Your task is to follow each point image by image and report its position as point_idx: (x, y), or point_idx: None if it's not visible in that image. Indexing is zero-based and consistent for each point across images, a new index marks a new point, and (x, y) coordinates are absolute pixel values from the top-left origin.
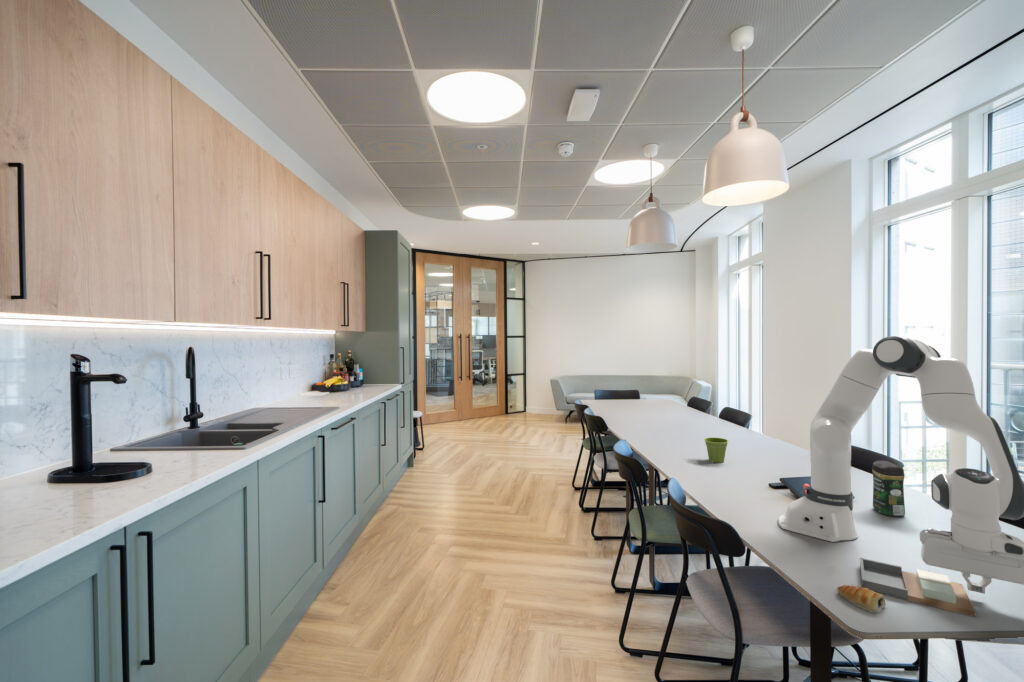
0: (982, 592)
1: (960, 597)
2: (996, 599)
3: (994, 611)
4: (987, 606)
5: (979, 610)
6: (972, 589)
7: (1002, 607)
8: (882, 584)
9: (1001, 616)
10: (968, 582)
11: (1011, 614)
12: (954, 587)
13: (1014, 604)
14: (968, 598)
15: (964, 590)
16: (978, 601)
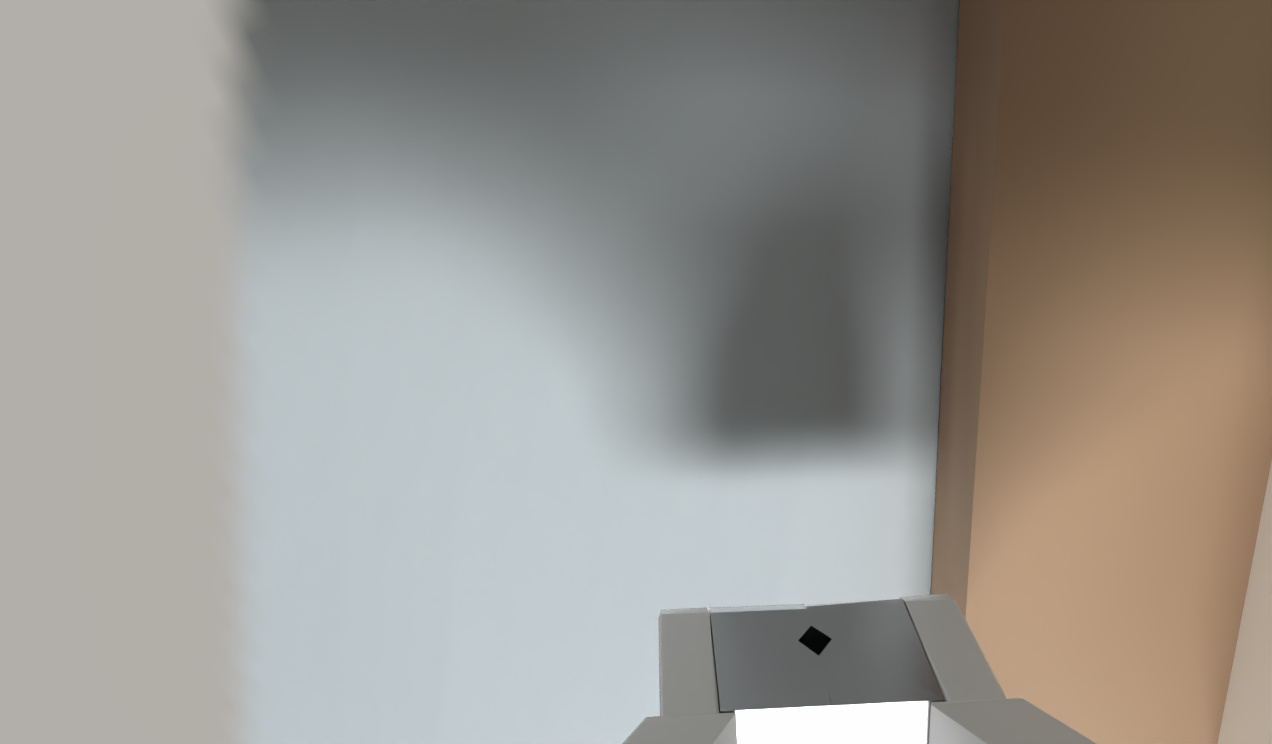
0: (704, 614)
1: (1166, 207)
2: (480, 718)
3: (554, 186)
4: (643, 343)
5: (816, 29)
6: (890, 614)
7: (417, 466)
8: None
9: (456, 14)
10: (1031, 719)
11: (296, 254)
12: (1133, 657)
13: (255, 696)
14: (999, 266)
15: (976, 631)
16: (758, 466)
